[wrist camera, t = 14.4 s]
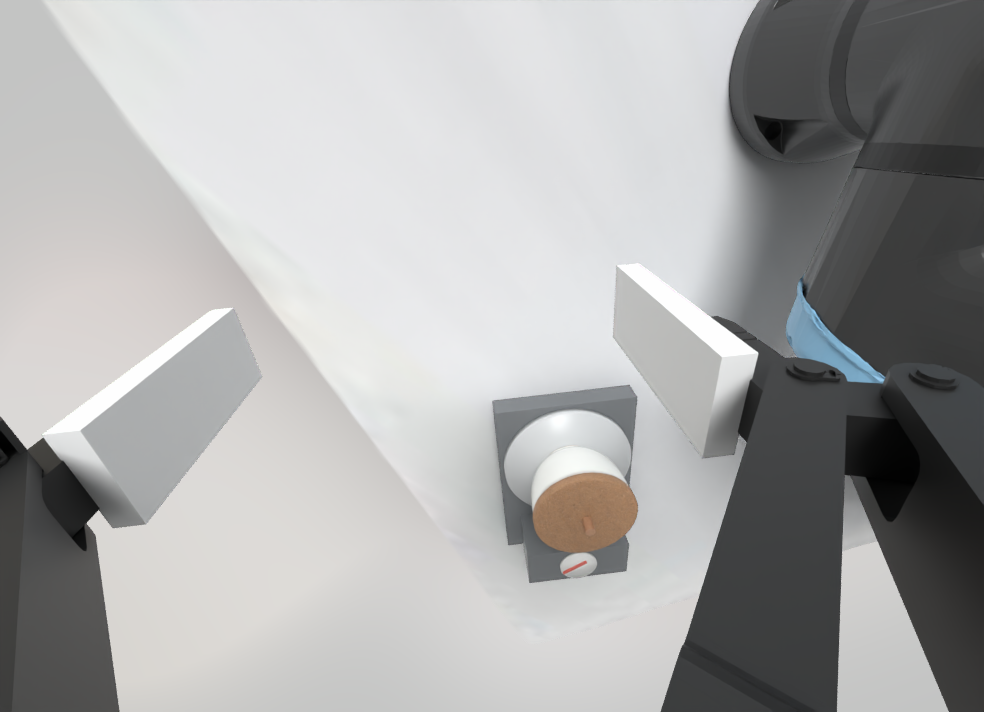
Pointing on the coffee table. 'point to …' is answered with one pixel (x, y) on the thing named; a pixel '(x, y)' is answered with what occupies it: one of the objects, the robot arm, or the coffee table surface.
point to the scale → (531, 438)
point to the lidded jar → (581, 500)
